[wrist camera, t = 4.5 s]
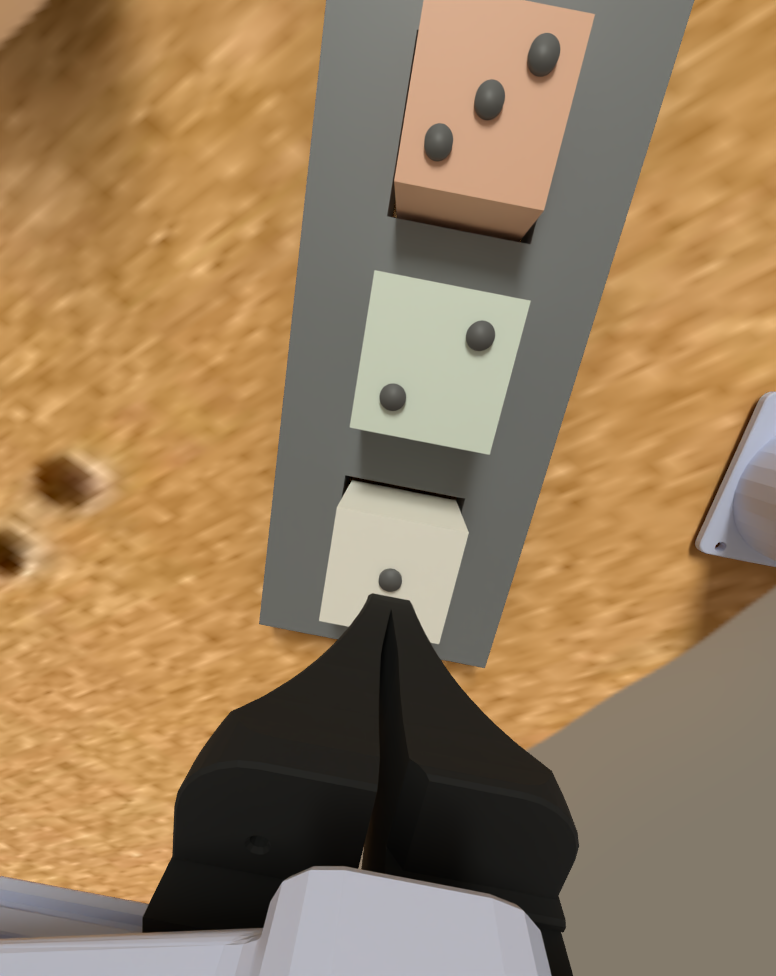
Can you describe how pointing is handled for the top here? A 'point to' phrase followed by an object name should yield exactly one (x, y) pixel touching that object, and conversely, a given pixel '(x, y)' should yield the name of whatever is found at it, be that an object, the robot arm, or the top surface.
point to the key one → (393, 554)
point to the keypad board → (454, 261)
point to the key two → (436, 361)
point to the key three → (487, 113)
